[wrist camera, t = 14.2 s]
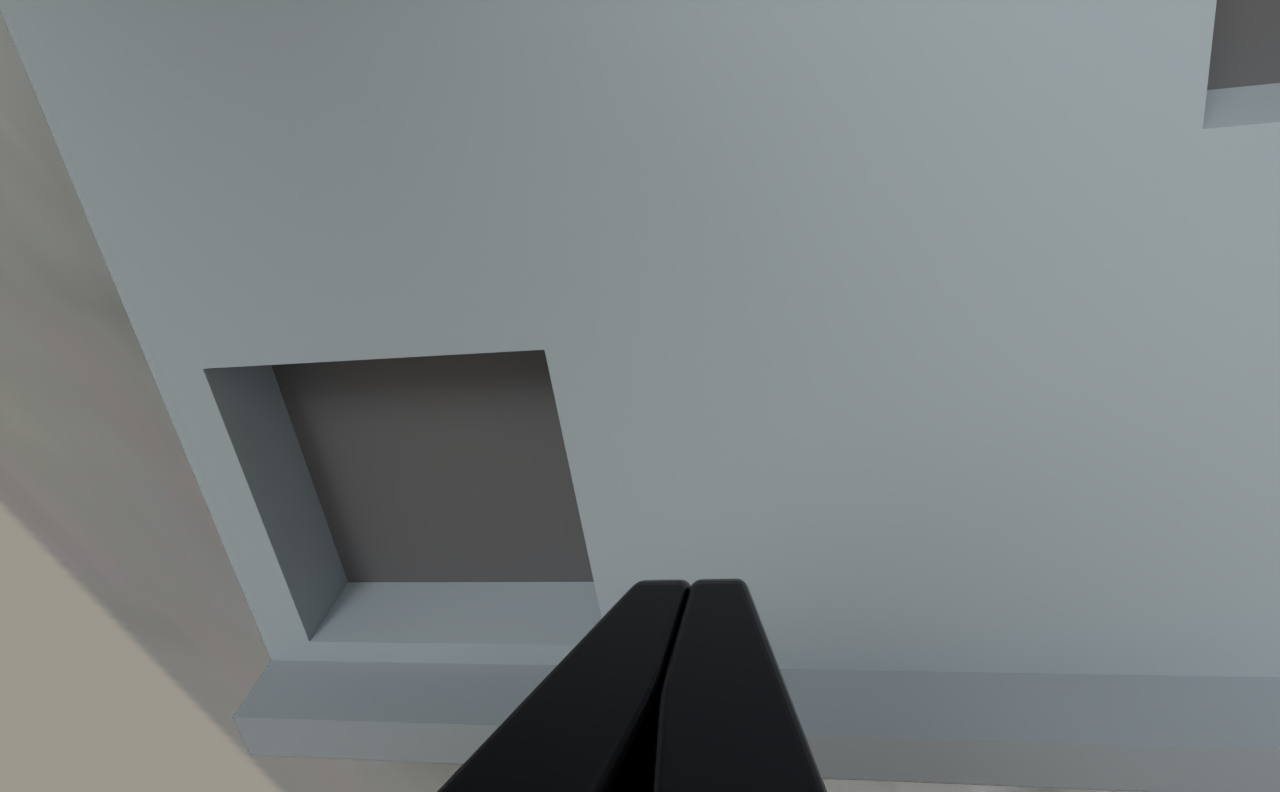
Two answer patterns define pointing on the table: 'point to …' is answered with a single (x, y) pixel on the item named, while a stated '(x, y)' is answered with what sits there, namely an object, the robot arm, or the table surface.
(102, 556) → the table surface
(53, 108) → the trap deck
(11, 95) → the table surface
